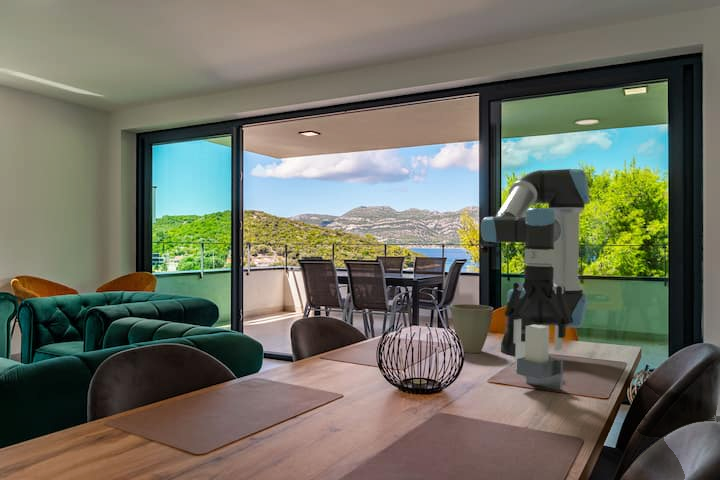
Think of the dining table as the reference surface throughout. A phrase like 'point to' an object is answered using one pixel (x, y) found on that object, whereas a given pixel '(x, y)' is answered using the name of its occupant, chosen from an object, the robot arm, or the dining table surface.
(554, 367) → the cup bracket
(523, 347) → the jar
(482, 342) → the plant pot
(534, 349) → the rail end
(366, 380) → the dining table surface
